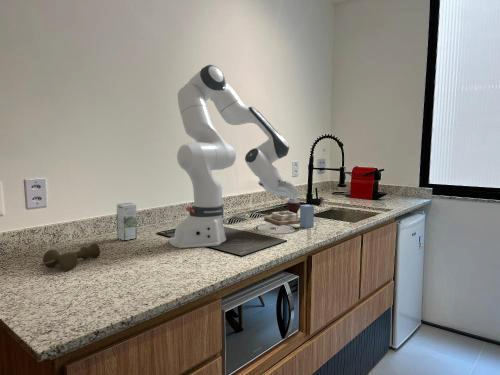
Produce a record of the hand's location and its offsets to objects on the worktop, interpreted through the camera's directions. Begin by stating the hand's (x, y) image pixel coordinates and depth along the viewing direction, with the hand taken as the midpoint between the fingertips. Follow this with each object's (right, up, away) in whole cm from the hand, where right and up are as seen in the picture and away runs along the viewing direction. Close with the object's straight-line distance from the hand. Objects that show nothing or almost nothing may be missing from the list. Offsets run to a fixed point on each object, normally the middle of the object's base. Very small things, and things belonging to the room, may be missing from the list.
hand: (290, 200), depth 171 cm
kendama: (-76, -19, -50) cm, 93 cm away
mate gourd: (+5, -9, +37) cm, 39 cm away
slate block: (+8, -13, +6) cm, 16 cm away
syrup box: (-68, -15, -18) cm, 72 cm away
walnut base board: (-1, -11, +18) cm, 21 cm away
